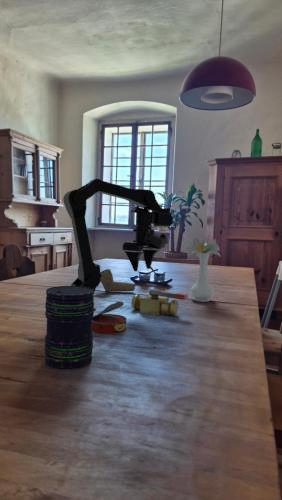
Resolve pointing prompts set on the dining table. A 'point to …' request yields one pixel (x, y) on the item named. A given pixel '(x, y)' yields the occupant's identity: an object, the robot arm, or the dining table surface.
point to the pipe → (114, 283)
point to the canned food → (109, 321)
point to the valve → (155, 305)
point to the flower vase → (203, 268)
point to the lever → (168, 294)
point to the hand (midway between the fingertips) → (142, 270)
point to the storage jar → (69, 327)
